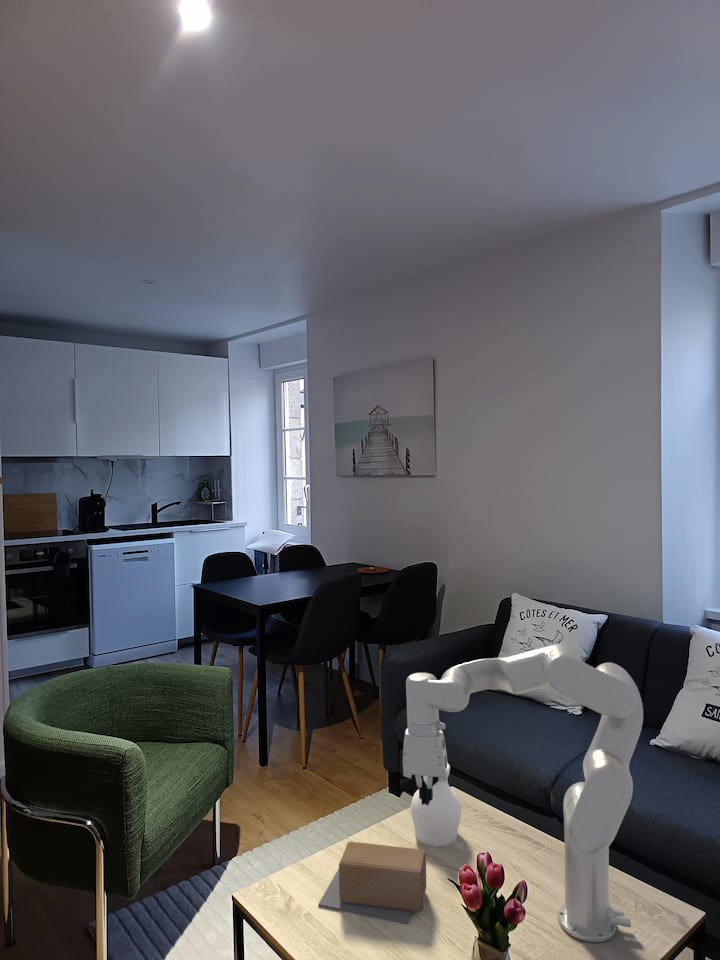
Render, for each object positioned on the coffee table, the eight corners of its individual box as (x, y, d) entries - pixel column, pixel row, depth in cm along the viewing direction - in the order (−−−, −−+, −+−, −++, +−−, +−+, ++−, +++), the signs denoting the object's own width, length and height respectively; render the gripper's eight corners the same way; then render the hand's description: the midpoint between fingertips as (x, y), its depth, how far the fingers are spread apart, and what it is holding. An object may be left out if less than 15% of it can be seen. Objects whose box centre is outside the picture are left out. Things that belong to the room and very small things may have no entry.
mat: (424, 877, 172) (424, 875, 171) (408, 924, 154) (407, 922, 154) (343, 862, 178) (343, 860, 178) (318, 906, 161) (318, 904, 161)
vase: (402, 827, 195) (401, 759, 194) (446, 817, 200) (445, 750, 199) (425, 854, 182) (424, 781, 181) (471, 842, 187) (470, 771, 186)
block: (421, 872, 156) (337, 862, 161) (421, 914, 157) (338, 903, 161) (426, 847, 166) (347, 839, 170) (426, 887, 167) (348, 878, 171)
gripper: (457, 723, 162) (459, 798, 163) (397, 718, 167) (399, 791, 167) (451, 735, 155) (454, 814, 155) (389, 730, 160) (392, 806, 160)
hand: (426, 802), depth 161 cm, fingers closed
